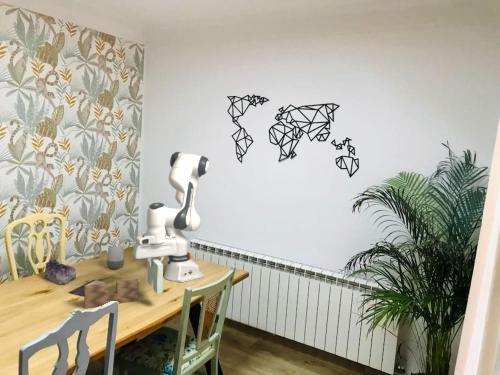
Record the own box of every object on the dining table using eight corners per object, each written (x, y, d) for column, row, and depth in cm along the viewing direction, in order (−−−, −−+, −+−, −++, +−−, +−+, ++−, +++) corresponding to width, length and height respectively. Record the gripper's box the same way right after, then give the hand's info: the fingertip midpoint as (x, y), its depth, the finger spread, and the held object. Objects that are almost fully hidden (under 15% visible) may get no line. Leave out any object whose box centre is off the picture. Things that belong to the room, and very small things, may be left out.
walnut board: (136, 298, 186) (137, 279, 185) (138, 300, 184) (138, 281, 183) (84, 306, 174) (84, 286, 172) (85, 309, 171) (85, 288, 170)
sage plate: (147, 281, 189) (148, 254, 186) (152, 280, 190) (153, 253, 188) (156, 294, 175) (157, 265, 173) (162, 293, 176) (163, 264, 174)
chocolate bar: (68, 292, 186) (93, 279, 203) (68, 293, 186) (93, 281, 203) (83, 295, 184) (107, 282, 201) (83, 297, 184) (107, 284, 201)
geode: (34, 278, 201) (36, 259, 201) (54, 275, 212) (56, 257, 212) (60, 286, 192) (62, 266, 192) (79, 282, 202) (81, 263, 203)
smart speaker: (120, 264, 231) (121, 242, 229) (125, 269, 224) (126, 246, 222) (104, 266, 225) (105, 244, 223) (109, 271, 218) (110, 248, 216)
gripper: (174, 233, 187) (173, 260, 189) (132, 237, 176) (132, 265, 178) (179, 237, 181) (178, 264, 184) (136, 241, 171) (135, 270, 173)
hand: (155, 265), depth 181 cm, fingers closed on sage plate, 2 cm apart
